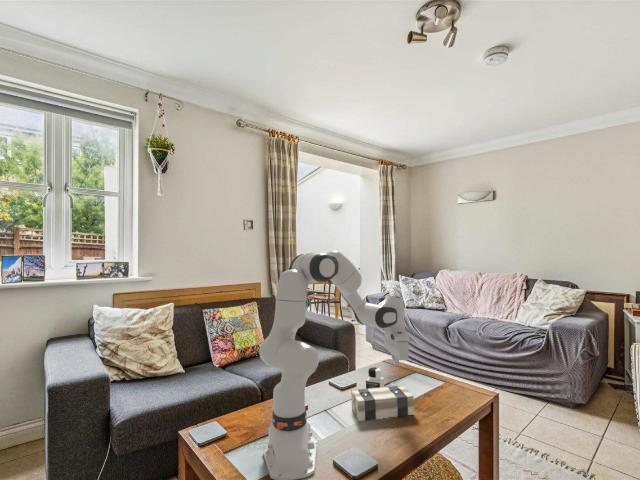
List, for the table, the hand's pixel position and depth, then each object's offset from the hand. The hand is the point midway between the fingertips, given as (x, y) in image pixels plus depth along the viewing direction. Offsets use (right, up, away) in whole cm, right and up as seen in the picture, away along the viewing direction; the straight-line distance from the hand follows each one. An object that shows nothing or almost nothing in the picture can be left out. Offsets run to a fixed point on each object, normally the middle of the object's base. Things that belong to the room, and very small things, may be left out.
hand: (395, 364), depth 149 cm
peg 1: (-13, -19, -3) cm, 23 cm away
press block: (-6, -20, -2) cm, 21 cm away
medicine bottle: (-6, -21, +18) cm, 28 cm away
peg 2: (+1, -19, -1) cm, 19 cm away
